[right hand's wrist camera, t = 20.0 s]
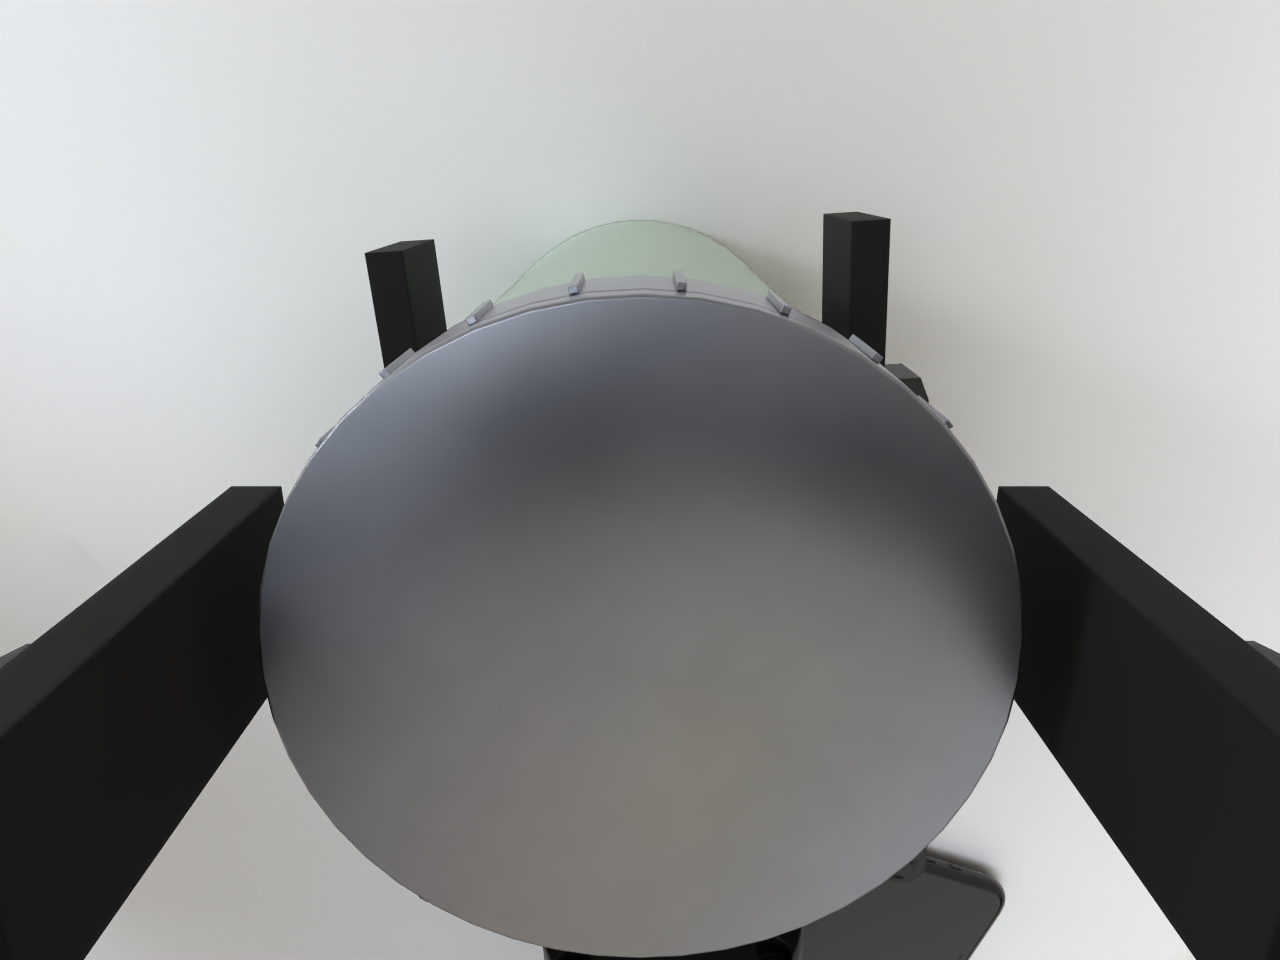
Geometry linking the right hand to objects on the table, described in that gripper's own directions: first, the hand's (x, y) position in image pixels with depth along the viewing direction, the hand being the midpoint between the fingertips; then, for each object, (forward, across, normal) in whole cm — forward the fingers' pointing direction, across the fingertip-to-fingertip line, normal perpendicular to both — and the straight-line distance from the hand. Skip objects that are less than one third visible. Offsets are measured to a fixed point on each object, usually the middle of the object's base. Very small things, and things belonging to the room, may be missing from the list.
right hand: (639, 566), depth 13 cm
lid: (-3, 0, 0) cm, 3 cm away
